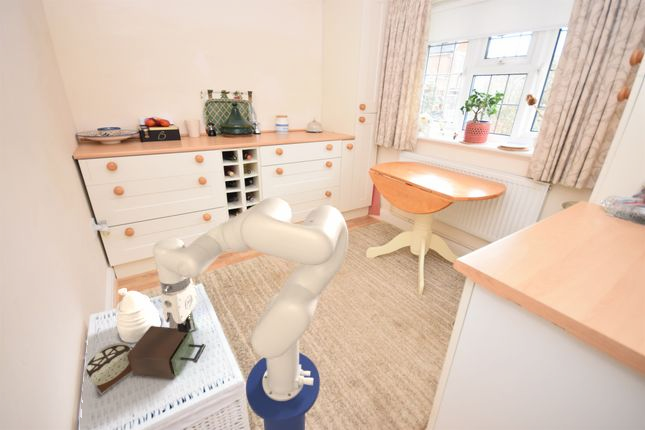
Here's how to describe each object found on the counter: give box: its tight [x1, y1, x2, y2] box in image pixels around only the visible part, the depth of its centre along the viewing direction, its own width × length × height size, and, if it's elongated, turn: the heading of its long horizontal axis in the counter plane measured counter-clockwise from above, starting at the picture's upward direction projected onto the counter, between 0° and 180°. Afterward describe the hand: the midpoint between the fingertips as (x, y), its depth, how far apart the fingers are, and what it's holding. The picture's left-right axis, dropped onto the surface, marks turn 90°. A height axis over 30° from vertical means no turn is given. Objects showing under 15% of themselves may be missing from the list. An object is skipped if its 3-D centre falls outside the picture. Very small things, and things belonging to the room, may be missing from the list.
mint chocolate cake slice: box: [84, 342, 134, 395], centre depth 87 cm, size 12×6×10 cm, turn 149°
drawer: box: [170, 332, 206, 377], centre depth 92 cm, size 17×10×7 cm, turn 85°
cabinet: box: [127, 326, 188, 380], centre depth 93 cm, size 13×12×9 cm
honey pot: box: [115, 287, 162, 344], centre depth 103 cm, size 13×13×18 cm
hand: (184, 330), depth 88 cm, fingers closed
